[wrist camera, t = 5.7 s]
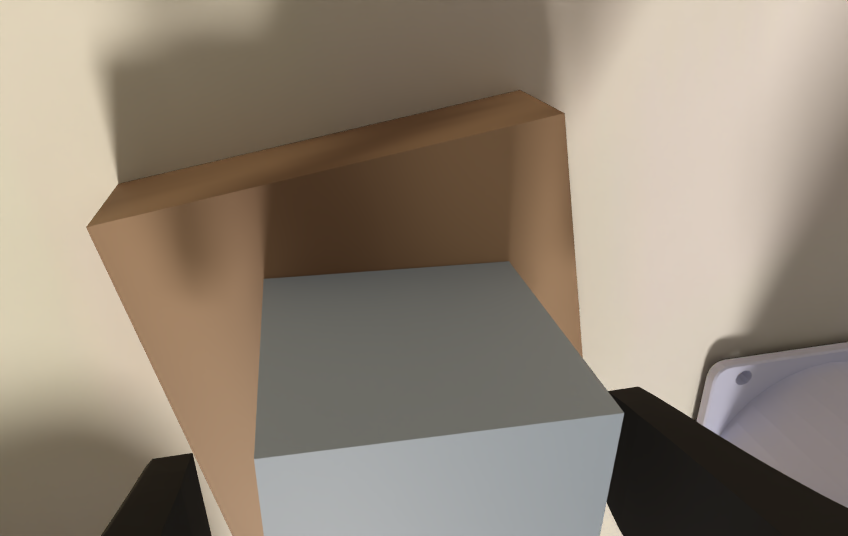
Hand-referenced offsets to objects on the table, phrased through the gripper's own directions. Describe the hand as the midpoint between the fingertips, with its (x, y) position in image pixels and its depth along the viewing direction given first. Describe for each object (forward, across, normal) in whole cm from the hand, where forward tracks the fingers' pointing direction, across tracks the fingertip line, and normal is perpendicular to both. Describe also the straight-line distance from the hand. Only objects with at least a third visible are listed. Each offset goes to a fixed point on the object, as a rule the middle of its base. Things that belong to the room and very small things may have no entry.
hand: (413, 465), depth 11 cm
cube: (+3, 0, 0) cm, 3 cm away
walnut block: (+6, 0, 0) cm, 6 cm away
